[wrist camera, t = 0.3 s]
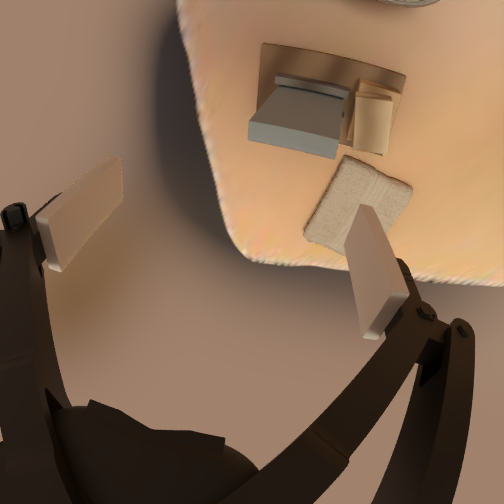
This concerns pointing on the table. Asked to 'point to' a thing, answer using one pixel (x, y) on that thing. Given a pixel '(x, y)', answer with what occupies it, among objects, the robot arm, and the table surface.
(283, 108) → the tall panel
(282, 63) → the brown rectangular board
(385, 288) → the robot arm
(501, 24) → the table surface
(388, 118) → the offcut stack
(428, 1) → the food container
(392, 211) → the washcloth
